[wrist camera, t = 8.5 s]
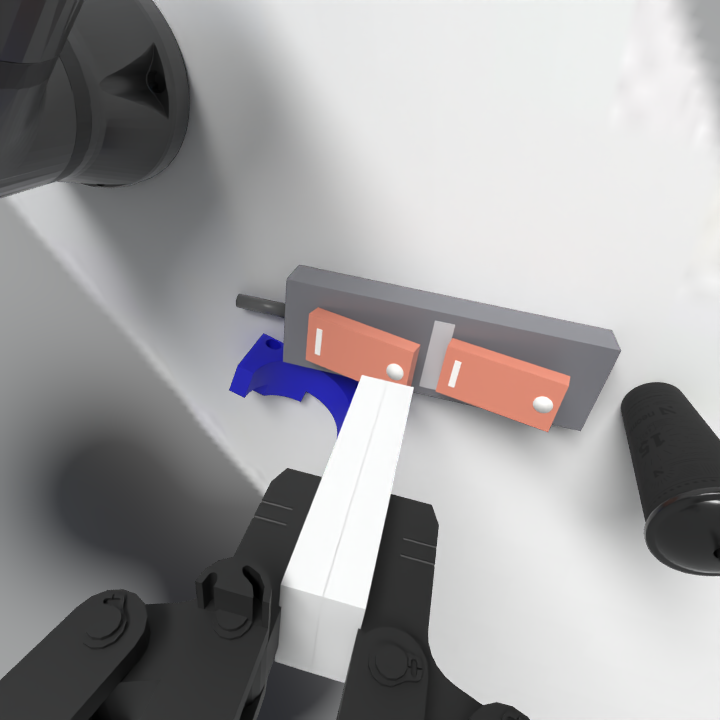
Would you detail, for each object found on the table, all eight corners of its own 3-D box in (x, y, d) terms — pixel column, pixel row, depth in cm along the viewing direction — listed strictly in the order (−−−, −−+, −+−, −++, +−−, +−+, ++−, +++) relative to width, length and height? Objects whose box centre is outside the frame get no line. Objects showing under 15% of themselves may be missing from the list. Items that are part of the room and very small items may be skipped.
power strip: (244, 332, 47) (229, 349, 44) (244, 253, 42) (227, 267, 39) (574, 407, 43) (580, 431, 40) (611, 330, 39) (621, 351, 36)
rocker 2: (440, 382, 41) (435, 391, 39) (452, 337, 38) (447, 346, 37) (549, 421, 38) (547, 432, 37) (570, 376, 36) (568, 386, 34)
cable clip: (251, 366, 49) (224, 401, 44) (264, 332, 46) (237, 365, 41) (358, 419, 49) (344, 459, 44) (376, 388, 47) (364, 427, 42)
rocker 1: (314, 352, 42) (304, 360, 41) (318, 307, 40) (308, 314, 38) (409, 390, 39) (402, 400, 38) (420, 344, 37) (413, 353, 36)
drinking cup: (727, 388, 39) (903, 633, 23) (665, 451, 43) (776, 696, 27) (638, 353, 39) (748, 572, 23) (585, 420, 44) (646, 645, 27)
